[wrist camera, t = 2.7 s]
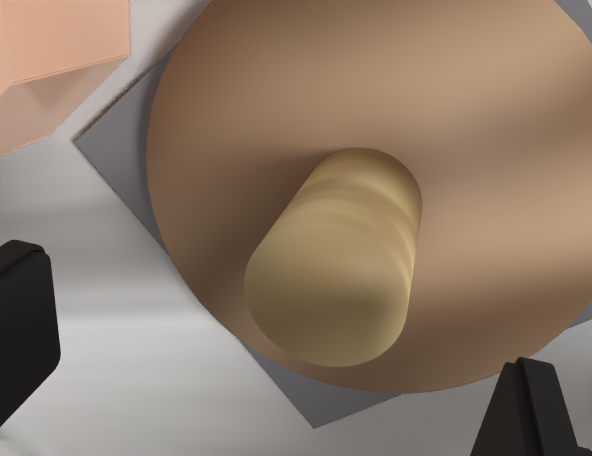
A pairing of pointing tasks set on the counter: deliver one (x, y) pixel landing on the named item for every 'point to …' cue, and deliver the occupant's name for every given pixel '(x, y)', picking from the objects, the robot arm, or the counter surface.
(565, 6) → the mat
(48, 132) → the bowl
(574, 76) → the lid
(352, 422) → the counter surface
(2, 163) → the counter surface
